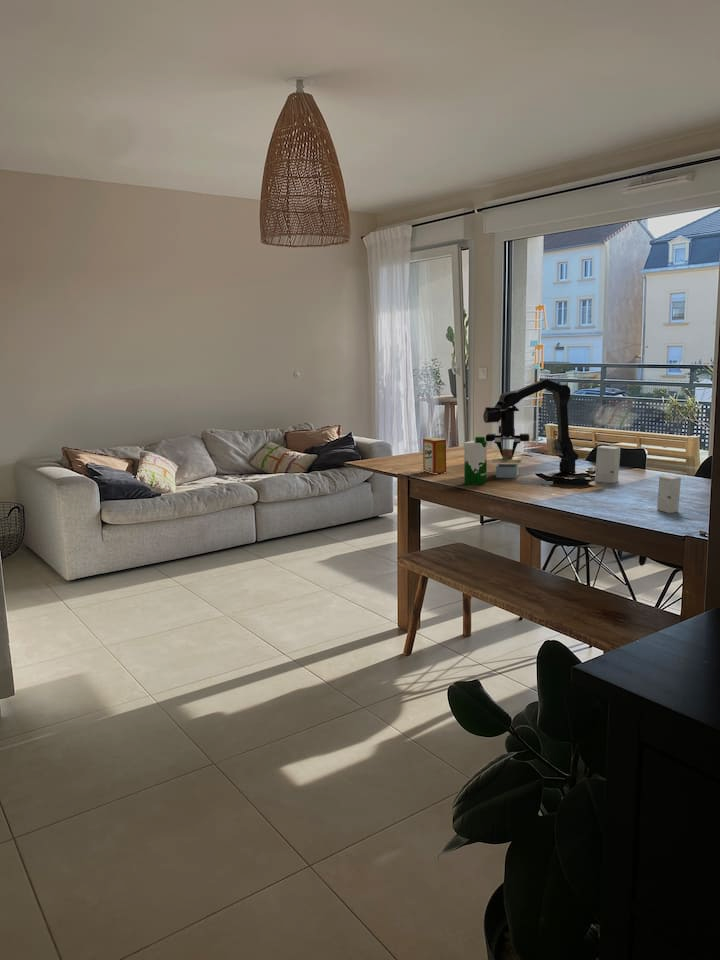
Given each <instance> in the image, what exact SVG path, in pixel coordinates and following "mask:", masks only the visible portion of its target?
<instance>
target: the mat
mask: <svg viewBox="0 0 720 960" xmlns="http://www.w3.org/2000/svg"><path fill="white" fill-rule="evenodd" d="M541 478H542V477H519V481H518V484H517V485H546V486H547V485H550V486H551V485H552V486H553V484H554V480H553V481H546V480H543V479H541Z"/></svg>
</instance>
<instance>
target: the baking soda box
mask: <svg viewBox="0 0 720 960" xmlns="http://www.w3.org/2000/svg"><path fill="white" fill-rule="evenodd" d="M422 460H423V464H422V465H423V466H422V468H423V469H422V470H426V471H429V472H433V473H443V474H445V473H444V472H446V473H447V439H445V438H439V437H428V438H426V437H425V438H422Z"/></svg>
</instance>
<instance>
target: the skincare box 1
mask: <svg viewBox="0 0 720 960" xmlns="http://www.w3.org/2000/svg"><path fill="white" fill-rule="evenodd" d="M620 460H621V447H618V446H612V445H611V446H609V445H600V446H597V447H596V459H595V471H594V472H595V473H594V482H597V483H607V484H608V483H609V484H615V483H617V482H619V476H620V475H619V472H620V463H621V462H620Z"/></svg>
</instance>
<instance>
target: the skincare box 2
mask: <svg viewBox="0 0 720 960" xmlns="http://www.w3.org/2000/svg"><path fill="white" fill-rule="evenodd" d="M681 480H682V478H681V477H678V476H673V475H670V474H669V475H667V474H666V475H661V476H659V478H658V489H657V491H658V492H657V493H658V494H657V503H656V510H657V511H661V512H664V513H668V514H672V513H678V512H679V507H680V505H679V504H680V495H681V494H680V493H681V483H682V481H681Z"/></svg>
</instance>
